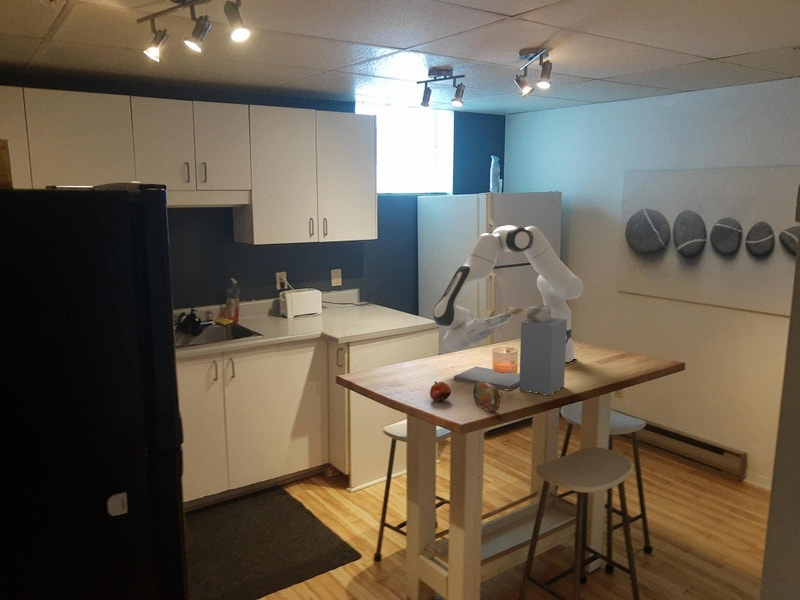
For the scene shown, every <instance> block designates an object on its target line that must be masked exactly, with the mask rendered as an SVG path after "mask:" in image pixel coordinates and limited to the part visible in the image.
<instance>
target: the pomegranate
mask: <svg viewBox="0 0 800 600" xmlns="http://www.w3.org/2000/svg"><path fill="white" fill-rule="evenodd" d="M433 383H434V384H433V385H432V386H431V388H430V391H429V397H430V398H431V400H432V401H433V402H436V403H437V402H441V401H442V402H443V404H444V405H446V404H445V401H446V400H447V399H448V398H449V397H450V396H451V394H452V388H451V387H450V385H448V384H447V383H445V382H443V381H439V382H437V381H436V380H435V381H434V382H433Z"/></svg>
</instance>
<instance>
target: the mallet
mask: <svg viewBox="0 0 800 600" xmlns="http://www.w3.org/2000/svg"><path fill="white" fill-rule="evenodd" d="M507 313H508V314H513V315H519V316H527V317H526V320H527V321H532V322H540V323H543V322H546V321H548V320H550V319H551V306H545V305H544V304H534V305H531V306H529V307H527V308H523V307H514V306H507V307H505V314H507Z"/></svg>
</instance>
